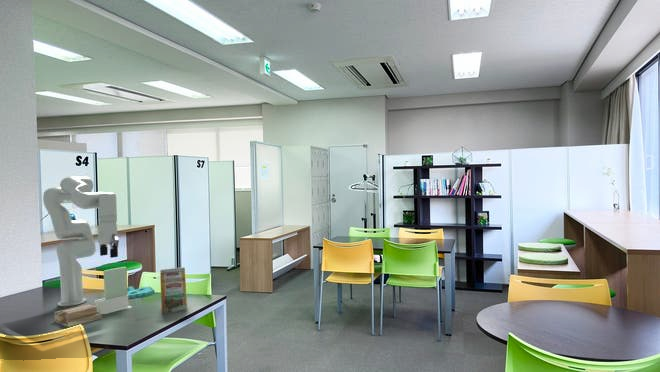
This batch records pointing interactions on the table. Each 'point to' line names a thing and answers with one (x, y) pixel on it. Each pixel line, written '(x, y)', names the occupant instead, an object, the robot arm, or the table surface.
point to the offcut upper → (79, 311)
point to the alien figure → (139, 292)
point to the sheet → (115, 283)
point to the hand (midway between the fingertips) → (108, 256)
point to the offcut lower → (76, 318)
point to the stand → (112, 304)
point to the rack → (78, 321)
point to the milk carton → (173, 290)
